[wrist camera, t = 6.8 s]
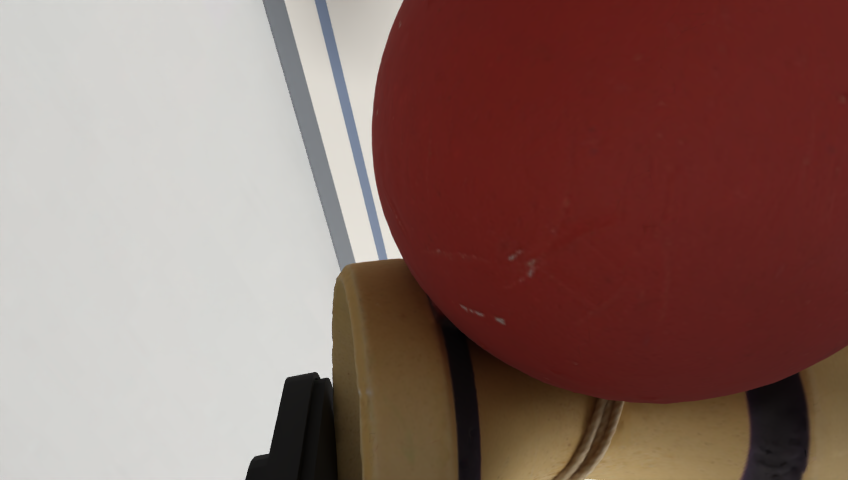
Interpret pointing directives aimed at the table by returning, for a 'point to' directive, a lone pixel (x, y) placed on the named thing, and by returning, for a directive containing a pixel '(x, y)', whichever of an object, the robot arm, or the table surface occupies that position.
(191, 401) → the table surface
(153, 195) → the table surface
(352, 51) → the picture frame
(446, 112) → the kendama
